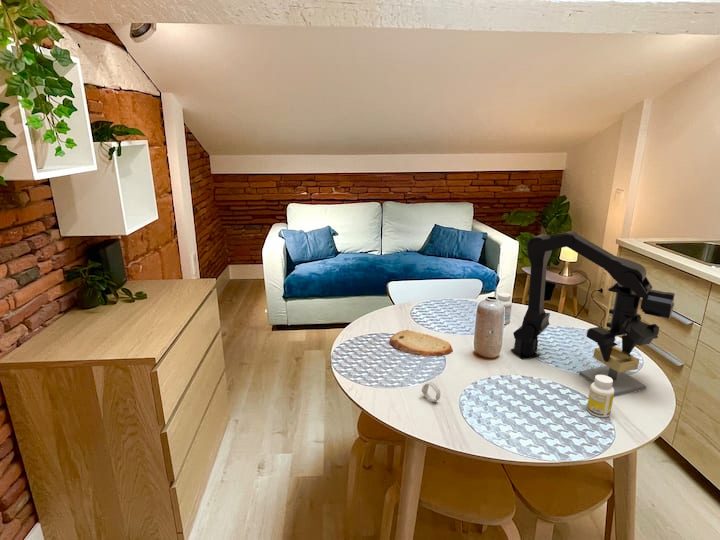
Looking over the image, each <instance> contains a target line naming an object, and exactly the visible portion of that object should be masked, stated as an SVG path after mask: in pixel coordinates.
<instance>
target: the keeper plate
mask: <svg viewBox="0 0 720 540" xmlns="http://www.w3.org/2000/svg"><path fill="white" fill-rule="evenodd" d="M578 375H579V376H580V377H582V378H583V379H584V380H586V381H587V382H589V383H590V384H592V383H593V382H594V380H595V376H596V375H606V376H609V377H610V378H612V380H613V384H612V387H613V389H614V397H617V396H622V395H627V394H631V393H635V391H636V392H639V390H640V391H643V390H644V389H645V390H646V389H647V385H646V384H645V383H643V382H641V381H639V379H636V378H635V377H632V376H631V375H629V374H627V373H626V372H621V373H618V372H617V371H615V370H613V369H612V368H610V367H608V366H607V365H604V366H599V367H593V368H588V369H584V370H579V372H578ZM645 390H644V391H645Z"/></svg>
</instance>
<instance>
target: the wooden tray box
mask: <svg viewBox="0 0 720 540" xmlns="http://www.w3.org/2000/svg"><path fill="white" fill-rule="evenodd" d="M593 350H594V351H593V357H592V358H593V359H594V360H597V361H598V362H600V363H602V364H603V365H604V366H608V367H610V368H612V369H613V370H615V371H617V372H618V373H621V372H624V373H626V372H630V371H634V370H638V367H639V364H640V359H639V358H637V357H636V356H634V355H632V354H631V353H630V354H628V353H626V352H625V351H623V350H622V348H619V347H617V346H614V347H612V351H611V355H610V358H609V360H608V362H606V361H604V359H603V356H602V353H601V351H600V348H599V347H595V348H594V349H593Z"/></svg>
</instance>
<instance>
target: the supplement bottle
mask: <svg viewBox="0 0 720 540" xmlns="http://www.w3.org/2000/svg"><path fill="white" fill-rule="evenodd" d="M612 384H613V380H612V378H610V377H609V376H606V375H596V376H595V380H594V382H593V383H590V386H589V393H588V400H587V405H586V410H587V411H588V412H589V413H590V415H592V416H595V417H598V418H608V417H610V416H611V412H612V406H613V402H614V401H613V400H614V397H615V396H614V389H613V387H612Z"/></svg>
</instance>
